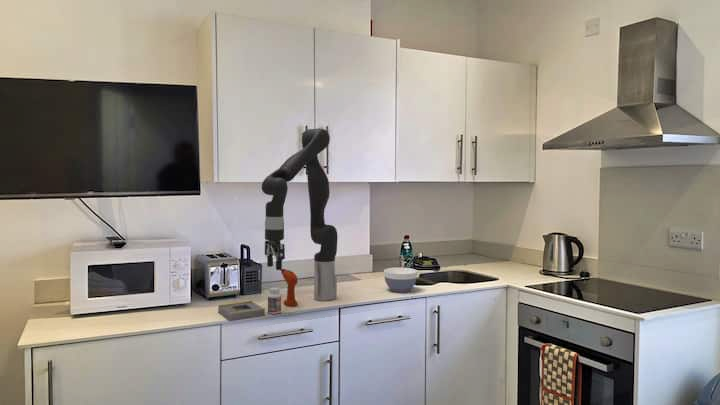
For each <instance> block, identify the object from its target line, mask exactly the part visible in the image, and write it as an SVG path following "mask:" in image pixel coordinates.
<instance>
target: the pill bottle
mask: <svg viewBox="0 0 720 405" xmlns="http://www.w3.org/2000/svg"><path fill="white" fill-rule="evenodd" d="M280 290H281V289H280V287H275V286H274V287H270V288H269V293H268V294H267V313H268V314H271V315H278V314H281V312H282V294H281V293H280Z"/></svg>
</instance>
